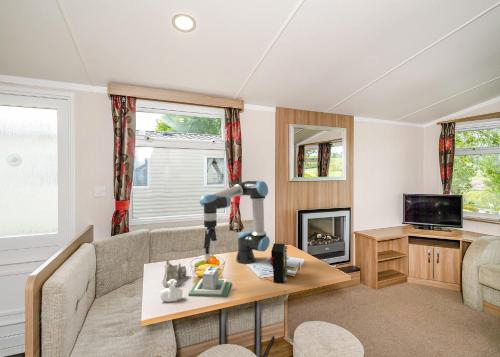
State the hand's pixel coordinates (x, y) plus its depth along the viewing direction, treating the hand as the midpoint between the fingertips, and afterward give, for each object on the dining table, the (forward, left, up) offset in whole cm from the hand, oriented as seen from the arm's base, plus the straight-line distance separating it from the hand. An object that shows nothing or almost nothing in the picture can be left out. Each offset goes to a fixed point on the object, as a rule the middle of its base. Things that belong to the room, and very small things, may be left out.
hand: (210, 255), depth 134 cm
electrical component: (-19, +42, -21) cm, 50 cm away
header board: (0, 0, -21) cm, 21 cm away
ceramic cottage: (-9, -26, -21) cm, 35 cm away
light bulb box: (+1, 0, -20) cm, 20 cm away
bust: (+12, -19, -21) cm, 31 cm away
